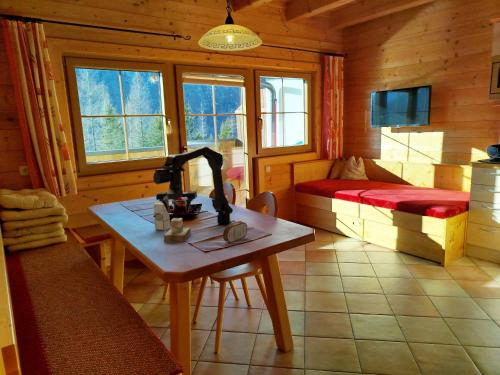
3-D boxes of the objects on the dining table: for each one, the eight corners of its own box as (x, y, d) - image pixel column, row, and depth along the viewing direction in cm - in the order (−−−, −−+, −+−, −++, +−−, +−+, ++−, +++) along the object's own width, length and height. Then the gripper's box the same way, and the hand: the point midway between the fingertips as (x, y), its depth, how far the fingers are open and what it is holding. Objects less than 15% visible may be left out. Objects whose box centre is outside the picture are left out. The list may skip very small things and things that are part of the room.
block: (183, 229, 169) (182, 218, 168) (180, 232, 165) (180, 220, 164) (174, 229, 170) (173, 218, 168) (171, 232, 165) (170, 220, 164)
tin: (243, 235, 169) (243, 218, 167) (248, 236, 167) (248, 219, 165) (222, 243, 158) (221, 226, 156) (227, 245, 156) (227, 227, 154)
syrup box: (170, 227, 185) (168, 201, 182) (164, 230, 179) (162, 203, 177) (161, 226, 187) (159, 201, 184) (155, 230, 181) (153, 203, 179)
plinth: (190, 233, 173) (190, 227, 173) (185, 241, 162) (184, 235, 161) (171, 234, 174) (170, 227, 173) (164, 241, 162) (163, 235, 162)
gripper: (151, 184, 157) (153, 217, 160) (191, 183, 156) (193, 216, 159) (158, 180, 168) (161, 211, 171) (196, 179, 167) (198, 210, 170)
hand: (178, 212), depth 167 cm, fingers open, 9 cm apart
